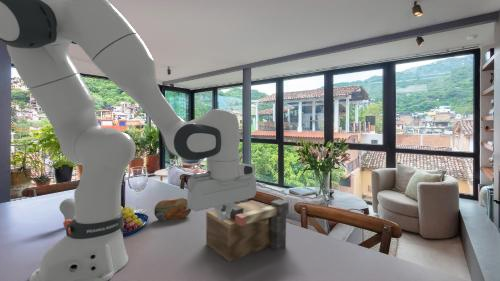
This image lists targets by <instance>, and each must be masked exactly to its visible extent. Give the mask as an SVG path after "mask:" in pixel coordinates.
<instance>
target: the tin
mask: <svg viewBox="0 0 500 281" xmlns="http://www.w3.org/2000/svg"><path fill="white" fill-rule="evenodd" d="M191 212H192V210H191V209H190V208H189V207H188V206H187V198H184V197H180V198H179V197H178V198H171V199H163V200H160V201H158V202H157V203H156V205H155V207H154V212H153V215H154V216H155V218H156V219H157V220H159V221H161V222H167V221H174V220H181V219H185V218H187V217H188V216H189V215H190V214H191Z"/></svg>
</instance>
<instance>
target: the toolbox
mask: <svg viewBox="0 0 500 281" xmlns="http://www.w3.org/2000/svg"><path fill="white" fill-rule="evenodd" d="M270 204H271V205H270V206H272V205H274V206H277V207H278V215H275V216H272V217H268V218H265V219H268V224H265V225H262V226H260V225H258V224H256V223H254V222H252V223H249V224H246V225H244V226H237V227H234V228H230V229H229V228H228V227H226V226H224V225H223V224H221V223H219V222H218V221H216V220H214V219H212V218H211V217H209V216H207V215H206V216H205V218H206V220H205V222H206V223H205V225H206V227H205V231H206V232H205V233H206V236H205V237H206V238H205V240H206V242H205V244H206V245H207V246H209V248H211V249H213V250H214V251H215V252H216V253H217V254H218V255H220V256H222V258H224V259H226V261H228V262H229V263H230V262H233V261H235V260H238V259H240V258H243V257H245V256H248V255H250V254H253V253H255V252H258V251H261V250H263V249H265V248H267V247H271V248H272V249H274V250H276V251H278V250H281V249H283V248H285V247H286V242H287V238H286V237H287V235H286V234H287V215H289V214H290V212H289V208H290V207H289V204H290V203H289V201H286V200H283V199H276V200H272V201H270Z"/></svg>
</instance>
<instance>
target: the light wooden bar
mask: <svg viewBox="0 0 500 281" xmlns="http://www.w3.org/2000/svg"><path fill="white" fill-rule="evenodd" d="M267 206H268V205H267ZM275 215H278V207H277V206H274V205H269V206H268V207H265V208H261V209H257V210H253V211H250V212H246V213H242V214H237V215H235V223H236V224H238V225H240V226H244V225H246V224H249V223H252V222H255V221H258V220H262V219H265V218H268V217H272V216H275Z"/></svg>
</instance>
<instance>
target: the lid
mask: <svg viewBox="0 0 500 281" xmlns="http://www.w3.org/2000/svg"><path fill="white" fill-rule="evenodd" d="M226 207H227V205H226V204H225V205H222V209H221V211H222V212H224V211H225V210H226ZM265 207H268V205H265V204H262V203H261V202H258V201H255V200H249V201H246V202H241V203H237V204H235V203H234V207H233V209H232V211H231V212H230V218H229V219H226V220H223V221H220V220H219V219H218V213H217V211H216V210H215V208H214V209H211V210H207V211H206V213H205V214H206V215H207V216H209V217H211V218H212V219H214V220H216V221H218V222H219V223H221V224H223V225H224V226H226V227H228V228H229V229H230V228H234V227H237V226H240V225H238V224H236V223H235V215H237V214H242V213H246V212H250V211H253V210H257V209H261V208H265ZM254 223H256V224H258V225H260V226H262V225H265V224H268V219H262V220H258V221H255V222H254Z"/></svg>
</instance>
